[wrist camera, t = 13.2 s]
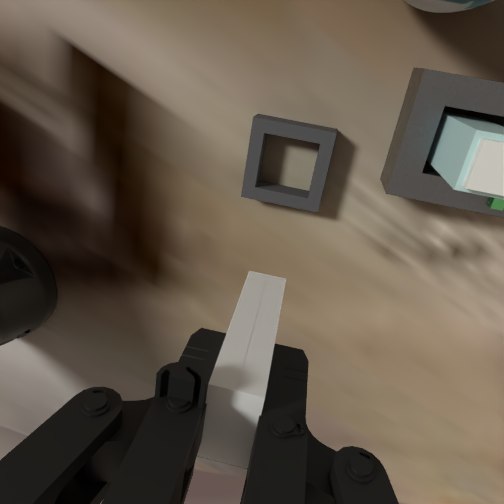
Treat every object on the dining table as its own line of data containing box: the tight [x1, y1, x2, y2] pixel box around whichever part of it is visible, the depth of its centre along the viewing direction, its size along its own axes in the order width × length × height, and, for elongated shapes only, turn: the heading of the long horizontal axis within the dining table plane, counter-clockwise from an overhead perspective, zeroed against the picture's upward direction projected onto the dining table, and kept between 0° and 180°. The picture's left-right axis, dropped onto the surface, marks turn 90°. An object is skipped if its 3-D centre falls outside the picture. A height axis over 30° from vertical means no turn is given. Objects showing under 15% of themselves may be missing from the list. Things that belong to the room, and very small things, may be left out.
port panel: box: [381, 68, 504, 218], centre depth 36 cm, size 10×10×6 cm
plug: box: [427, 111, 504, 200], centre depth 33 cm, size 4×4×13 cm
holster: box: [241, 114, 337, 213], centre depth 41 cm, size 8×8×2 cm
